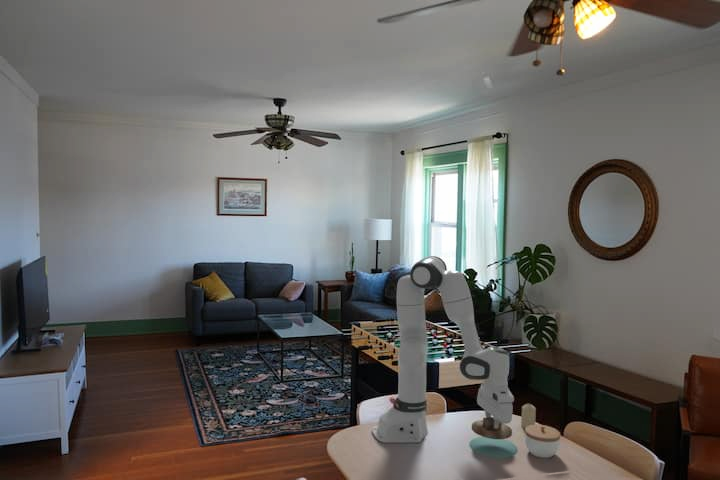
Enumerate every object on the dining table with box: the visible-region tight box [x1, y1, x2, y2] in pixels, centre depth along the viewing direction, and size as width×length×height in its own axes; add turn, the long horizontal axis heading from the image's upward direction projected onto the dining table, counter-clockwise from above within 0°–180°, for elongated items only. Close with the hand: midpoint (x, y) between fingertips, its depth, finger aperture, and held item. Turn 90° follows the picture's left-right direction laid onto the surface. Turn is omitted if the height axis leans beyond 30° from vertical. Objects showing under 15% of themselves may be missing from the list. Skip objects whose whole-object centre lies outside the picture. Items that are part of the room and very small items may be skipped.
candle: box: [520, 403, 537, 429], centre depth 233 cm, size 6×6×10 cm
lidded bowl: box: [524, 424, 561, 459], centre depth 209 cm, size 13×13×11 cm
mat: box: [469, 436, 519, 459], centre depth 213 cm, size 18×18×1 cm
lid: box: [471, 416, 513, 440], centre depth 213 cm, size 15×15×4 cm
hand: (492, 425), depth 213 cm, fingers closed on lid, 3 cm apart
